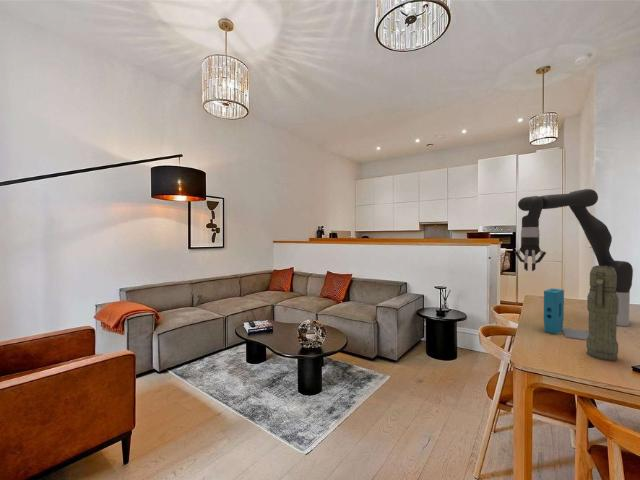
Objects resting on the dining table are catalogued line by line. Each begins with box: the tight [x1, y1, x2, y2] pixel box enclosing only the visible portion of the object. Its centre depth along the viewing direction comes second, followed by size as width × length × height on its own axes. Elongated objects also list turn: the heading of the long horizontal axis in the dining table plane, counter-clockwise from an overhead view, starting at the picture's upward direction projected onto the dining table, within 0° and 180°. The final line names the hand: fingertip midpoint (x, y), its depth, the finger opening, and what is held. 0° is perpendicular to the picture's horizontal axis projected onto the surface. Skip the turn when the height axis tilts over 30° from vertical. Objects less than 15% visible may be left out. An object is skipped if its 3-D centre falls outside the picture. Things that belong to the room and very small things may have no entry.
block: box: [543, 288, 565, 335], centre depth 144 cm, size 12×5×20 cm, turn 126°
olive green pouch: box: [586, 265, 619, 362], centre depth 114 cm, size 9×12×35 cm
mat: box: [562, 327, 589, 342], centre depth 138 cm, size 16×16×1 cm
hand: (529, 270), depth 149 cm, fingers closed
